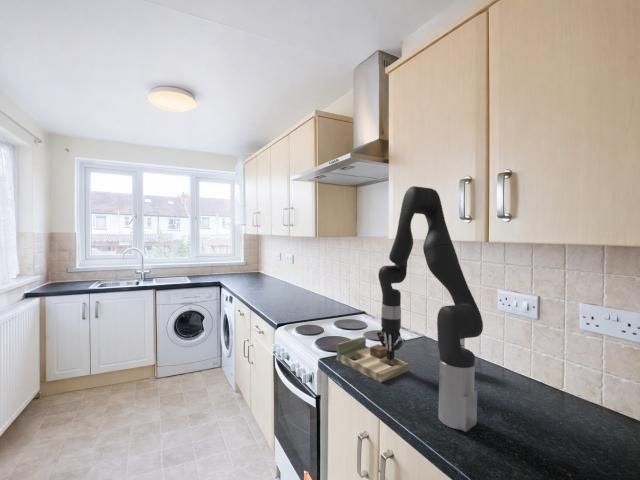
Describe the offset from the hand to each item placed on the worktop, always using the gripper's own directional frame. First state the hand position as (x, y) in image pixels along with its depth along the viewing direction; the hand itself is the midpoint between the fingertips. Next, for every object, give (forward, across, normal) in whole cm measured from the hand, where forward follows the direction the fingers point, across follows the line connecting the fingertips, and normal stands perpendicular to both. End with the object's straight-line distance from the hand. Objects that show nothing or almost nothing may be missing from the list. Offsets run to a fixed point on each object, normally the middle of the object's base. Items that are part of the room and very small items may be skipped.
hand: (390, 359), depth 124 cm
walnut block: (+1, +6, 0) cm, 6 cm away
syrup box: (+4, -16, -20) cm, 26 cm away
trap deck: (+4, +6, +4) cm, 8 cm away
